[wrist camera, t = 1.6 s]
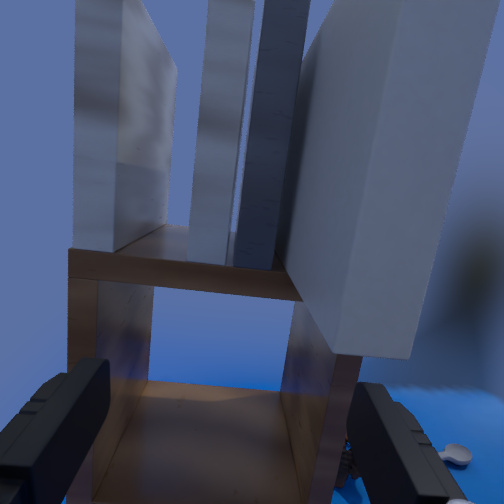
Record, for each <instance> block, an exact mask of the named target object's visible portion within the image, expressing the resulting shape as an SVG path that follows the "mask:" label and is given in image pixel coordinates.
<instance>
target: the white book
mask: <svg viewBox="0 0 504 504" xmlns="http://www.w3.org/2000/svg"><path fill="white" fill-rule="evenodd" d="M499 3H500V0H334V2H333V4H332V6H331V8H330V10H329V12H328V14H327V15H326V18H325V19H324V21H323V23H322V25H321V27H320V29H319V31H318V33H317V35H316V37H315V39H314V40H313V42H312V44H311V46H310V48H309V50H308V52H307V54H306V56H305V57H304V59H303V61H302V63H301V70H300V77H299V84H298V91H297V98H296V105H295V111H294V118H293V125H292V132H291V139H290V146H289V153H288V160H287V167H286V173H285V180H284V187H283V194H282V201H281V208H280V215H279V222H278V228H277V235H276V242H275V249H274V250H275V251H276V253H277V255H278V257H279V259H280V260H281V262H282V264H283V266H284V267H285V269H286V271H287V273H288V275H289V276H290V278H291V280H292V282H293V284H294V285H295V287H296V289H297V291H298V292H299V294H300V296H301V298H302V300H303V301H304V303H305V305H306V307H307V308H308V310H309V312H310V314H311V316H312V317H313V319H314V321H315V323H316V325H317V326H318V328H319V330H320V332H321V333H322V335H323V337H324V339H325V341H326V342H327V344H328V346H329V348H330V349H331V351H332V352H333V353H335V354H343V355H354V356H365V357H375V358H385V359H397V360H408V359H409V358H410V354H411V350H412V346H413V342H414V338H415V334H416V330H417V326H418V322H419V318H420V314H421V310H422V306H423V303H424V299H425V295H426V291H427V287H428V283H429V279H430V275H431V271H432V267H433V263H434V259H435V255H436V251H437V247H438V243H439V239H440V236H441V232H442V227H443V224H444V220H445V216H446V212H447V208H448V204H449V200H450V196H451V192H452V188H453V184H454V180H455V176H456V172H457V168H458V164H459V161H460V156H461V153H462V149H463V144H464V141H465V137H466V133H467V129H468V125H469V121H470V117H471V113H472V109H473V105H474V101H475V98H476V93H477V89H478V86H479V82H480V78H481V74H482V70H483V66H484V62H485V58H486V54H487V50H488V46H489V42H490V38H491V34H492V30H493V26H494V23H495V18H496V15H497V11H498V7H499Z"/></svg>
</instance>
